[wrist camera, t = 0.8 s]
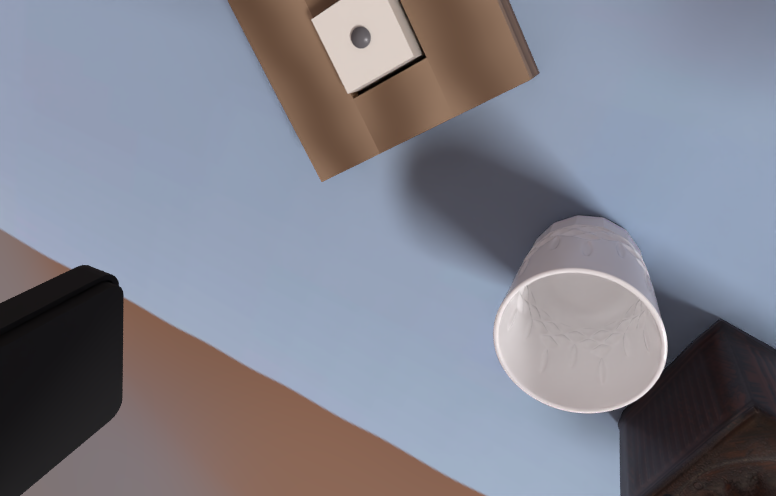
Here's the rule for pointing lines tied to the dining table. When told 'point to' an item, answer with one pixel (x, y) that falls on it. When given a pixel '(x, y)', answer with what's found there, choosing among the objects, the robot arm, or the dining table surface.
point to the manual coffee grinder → (705, 422)
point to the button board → (396, 92)
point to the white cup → (582, 319)
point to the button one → (367, 40)
